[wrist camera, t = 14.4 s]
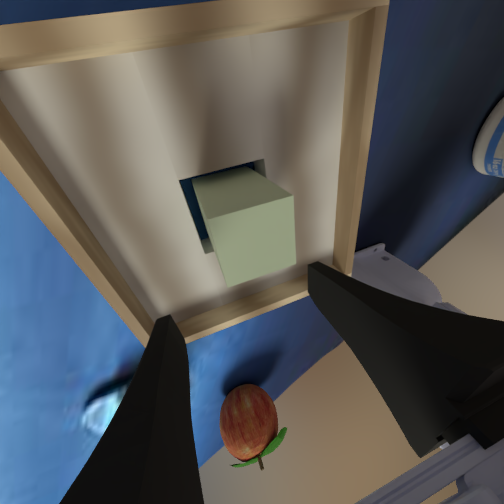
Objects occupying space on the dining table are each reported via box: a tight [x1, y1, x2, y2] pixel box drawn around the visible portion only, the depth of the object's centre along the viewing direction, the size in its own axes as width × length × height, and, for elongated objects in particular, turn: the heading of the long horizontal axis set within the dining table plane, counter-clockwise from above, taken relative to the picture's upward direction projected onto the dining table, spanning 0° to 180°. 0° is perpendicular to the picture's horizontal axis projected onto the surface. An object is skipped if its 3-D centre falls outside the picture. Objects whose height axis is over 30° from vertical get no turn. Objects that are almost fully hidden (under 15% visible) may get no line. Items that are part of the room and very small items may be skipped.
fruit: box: [220, 384, 287, 470], centre depth 32 cm, size 9×10×10 cm
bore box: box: [0, 0, 390, 348], centre depth 16 cm, size 20×20×4 cm
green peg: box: [191, 166, 296, 288], centre depth 15 cm, size 4×4×8 cm
